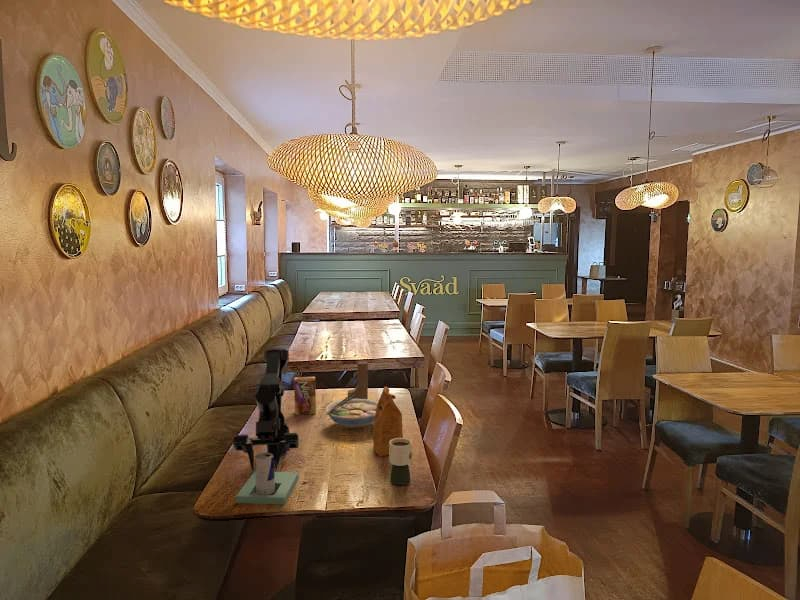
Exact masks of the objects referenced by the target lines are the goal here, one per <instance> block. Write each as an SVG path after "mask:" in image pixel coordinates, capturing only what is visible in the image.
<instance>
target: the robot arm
mask: <svg viewBox="0 0 800 600" xmlns="http://www.w3.org/2000/svg"><path fill="white" fill-rule="evenodd" d="M289 361H290V351H289V350H288V349H286V348H278V347H277V348H275V347H274V348H268V349H266V350H264V352H263V362H266V366H265V367H266V368H265V374H264V376H263V377H262V378H261V379H260V380H259V381H260V382H259V385H258V386H257V388H256V391H255V393H254V394H255V401H256V405H257V409H258V411H259V412H258V421H255V437H256V438H255V437H252V438H249V436H248V434H235V435H234V436H233V439H232V445H233V447H234V450H235V451H238V452H239V451H243V453H245V454H247V455H248V460H249V464H250V468H251V471H252V472H254V471H255V450H254V446H260V445H261V446H262V445H264V446H265V445H266V453H272V454H273V456H274V461H275V464H274V469H275V470H278V468H279V466H280V464H281V462H282V460H283V459H284V458H285V456H286V455H287V454H288V452H290V451H291V449H298V448H299V444H300V440H299V434H298V432H290V427H289V425H288V423H286V419H285V415H284V414H283V412H282V398H283V397H284V395H285V388H284V386H283V373H284V372H285V371H286V369H287V367H288V362H289Z"/></svg>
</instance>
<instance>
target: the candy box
mask: <svg viewBox="0 0 800 600" xmlns="http://www.w3.org/2000/svg"><path fill="white" fill-rule="evenodd" d="M293 389H294V390H293V391H294V392H293V393H294V414H295V415H296V416H298V415H312V414H313V415H314V414H316V413H317V405H316V403H317V399H316V398H317V397H316V392H317V391H316V377H315V376H298V377H294V379H293Z"/></svg>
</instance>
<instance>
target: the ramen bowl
mask: <svg viewBox="0 0 800 600" xmlns="http://www.w3.org/2000/svg"><path fill="white" fill-rule="evenodd" d="M350 396H351V394H350V395H348V394H347V396H346V397H345V398H344V399H341V400H335V401H334V402H331V403H329V404H328V405H327V406H326V407H325V410H326V412H327V413H326V416H329V418H330V419H331V420H332V421H333V422H334V423H336V424H338V425H339V426H342V427H345V428H349V429H353V430H354V429H355V430H357V429H361V428H362V427H366V426H369V425H371V424H374V418H375V414H376V408H377V404H378V402H377V401H376V400H371V399H368V400H367V399H352V398H353V397H355V395H353V396H351V397H350ZM349 397H350V398H349ZM348 398H349V399H348Z"/></svg>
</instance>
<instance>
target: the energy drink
mask: <svg viewBox="0 0 800 600" xmlns="http://www.w3.org/2000/svg"><path fill="white" fill-rule="evenodd" d="M254 467H255V471H256V492H255V493H256V494H255V495H275V493H276V489H275V472H276V471H275V470H276V469H275V460H274V456H273V454H272V453H267V452H261V453H258V454H257V455H255V458H254Z"/></svg>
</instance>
